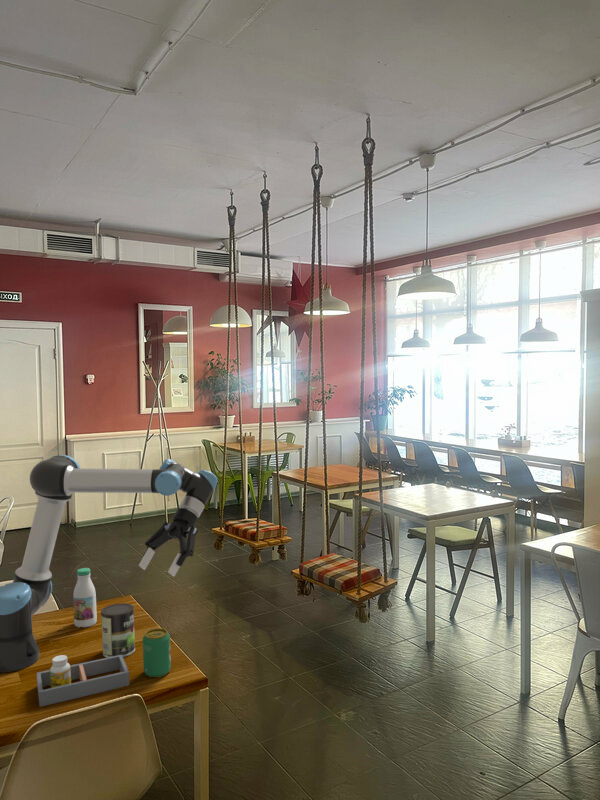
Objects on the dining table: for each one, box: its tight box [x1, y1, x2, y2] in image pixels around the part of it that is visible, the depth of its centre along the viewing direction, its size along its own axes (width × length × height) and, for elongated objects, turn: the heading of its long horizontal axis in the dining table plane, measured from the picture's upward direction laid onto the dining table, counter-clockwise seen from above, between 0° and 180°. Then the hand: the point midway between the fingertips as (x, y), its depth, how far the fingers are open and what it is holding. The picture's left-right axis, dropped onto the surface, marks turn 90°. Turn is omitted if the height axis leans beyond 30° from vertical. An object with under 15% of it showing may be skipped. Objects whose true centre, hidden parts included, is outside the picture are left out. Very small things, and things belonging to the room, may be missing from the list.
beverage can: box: [142, 627, 172, 678], centre depth 184 cm, size 8×8×12 cm
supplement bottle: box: [49, 654, 72, 688], centre depth 174 cm, size 5×5×10 cm
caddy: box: [36, 655, 131, 708], centre depth 177 cm, size 12×24×4 cm, turn 116°
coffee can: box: [100, 603, 136, 658], centre depth 199 cm, size 10×10×14 cm
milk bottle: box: [72, 567, 98, 628], centre depth 222 cm, size 8×8×20 cm
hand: (155, 571), depth 191 cm, fingers open, 13 cm apart
